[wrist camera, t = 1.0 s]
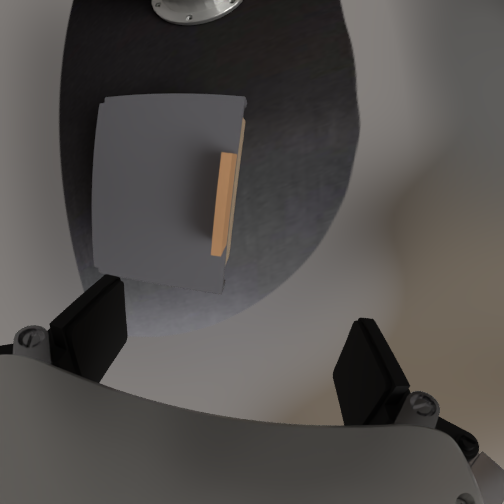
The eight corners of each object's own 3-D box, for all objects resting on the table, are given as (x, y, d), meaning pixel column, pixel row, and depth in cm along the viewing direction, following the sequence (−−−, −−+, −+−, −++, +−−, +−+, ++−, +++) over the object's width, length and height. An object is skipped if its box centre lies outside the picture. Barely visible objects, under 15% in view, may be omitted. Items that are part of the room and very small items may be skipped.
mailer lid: (111, 101, 23) (80, 92, 18) (246, 101, 23) (241, 86, 18) (104, 264, 29) (77, 284, 24) (224, 285, 29) (215, 312, 24)
